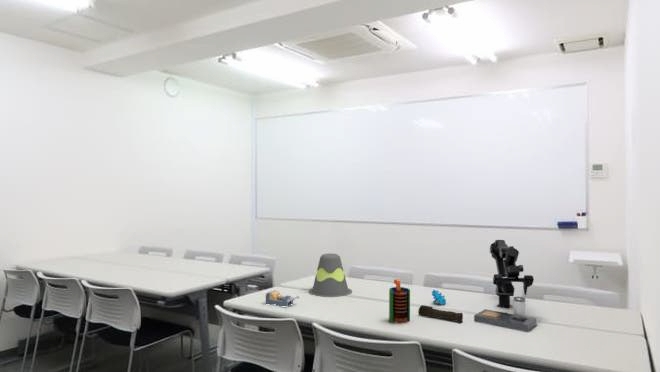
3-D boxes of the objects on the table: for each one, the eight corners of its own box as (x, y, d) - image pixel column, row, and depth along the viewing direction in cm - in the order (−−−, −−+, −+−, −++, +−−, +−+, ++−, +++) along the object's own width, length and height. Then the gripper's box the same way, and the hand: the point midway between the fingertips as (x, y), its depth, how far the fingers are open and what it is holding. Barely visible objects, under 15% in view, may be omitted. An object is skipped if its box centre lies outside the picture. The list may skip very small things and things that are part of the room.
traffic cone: (353, 297, 260) (352, 257, 261) (307, 297, 261) (306, 257, 261) (351, 286, 288) (351, 251, 288) (309, 287, 288) (309, 251, 289)
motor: (395, 324, 207) (395, 283, 207) (385, 319, 215) (384, 279, 215) (412, 321, 211) (412, 280, 212) (401, 316, 219) (401, 277, 219)
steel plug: (515, 322, 208) (515, 296, 209) (526, 325, 205) (526, 297, 205) (512, 325, 205) (512, 298, 205) (523, 327, 201) (523, 299, 201)
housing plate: (485, 314, 222) (485, 308, 222) (536, 324, 205) (536, 317, 205) (474, 321, 211) (474, 314, 211) (527, 332, 195) (527, 324, 195)
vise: (263, 304, 245) (263, 292, 245) (274, 300, 254) (274, 289, 254) (288, 309, 235) (288, 296, 235) (299, 304, 244) (299, 292, 244)
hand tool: (463, 321, 212) (463, 310, 212) (460, 324, 208) (460, 312, 208) (421, 313, 225) (421, 303, 225) (417, 316, 221) (417, 305, 222)
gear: (440, 304, 237) (430, 289, 243) (433, 310, 240) (423, 295, 246) (451, 303, 244) (441, 288, 250) (444, 309, 247) (434, 294, 253)
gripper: (493, 258, 220) (497, 284, 209) (532, 259, 216) (539, 286, 205) (491, 271, 227) (495, 297, 216) (528, 272, 224) (534, 298, 213)
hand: (515, 294), depth 212 cm, fingers open, 9 cm apart
